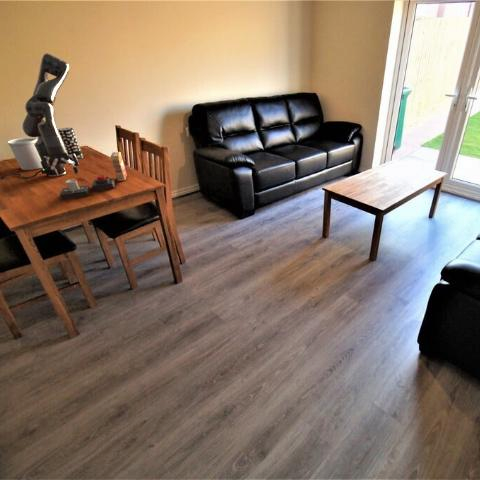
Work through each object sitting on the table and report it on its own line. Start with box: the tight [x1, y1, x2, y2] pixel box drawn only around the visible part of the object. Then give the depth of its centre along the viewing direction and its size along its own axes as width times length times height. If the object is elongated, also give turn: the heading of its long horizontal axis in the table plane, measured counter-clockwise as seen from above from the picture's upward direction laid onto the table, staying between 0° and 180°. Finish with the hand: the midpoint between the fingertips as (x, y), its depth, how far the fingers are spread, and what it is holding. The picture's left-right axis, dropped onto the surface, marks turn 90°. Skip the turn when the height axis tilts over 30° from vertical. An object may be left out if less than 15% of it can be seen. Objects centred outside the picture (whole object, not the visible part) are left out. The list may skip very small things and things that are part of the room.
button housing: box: [91, 176, 116, 192], centre depth 186 cm, size 10×9×5 cm
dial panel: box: [59, 184, 91, 201], centre depth 177 cm, size 12×10×3 cm
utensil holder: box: [7, 137, 43, 171], centre depth 211 cm, size 15×15×18 cm
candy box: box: [110, 151, 128, 182], centre depth 195 cm, size 9×4×15 cm, turn 20°
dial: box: [65, 178, 80, 191], centre depth 175 cm, size 5×5×5 cm
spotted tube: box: [57, 127, 84, 160], centre depth 227 cm, size 8×8×20 cm
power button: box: [96, 174, 107, 180], centre depth 185 cm, size 4×4×2 cm
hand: (67, 174), depth 172 cm, fingers open, 8 cm apart
